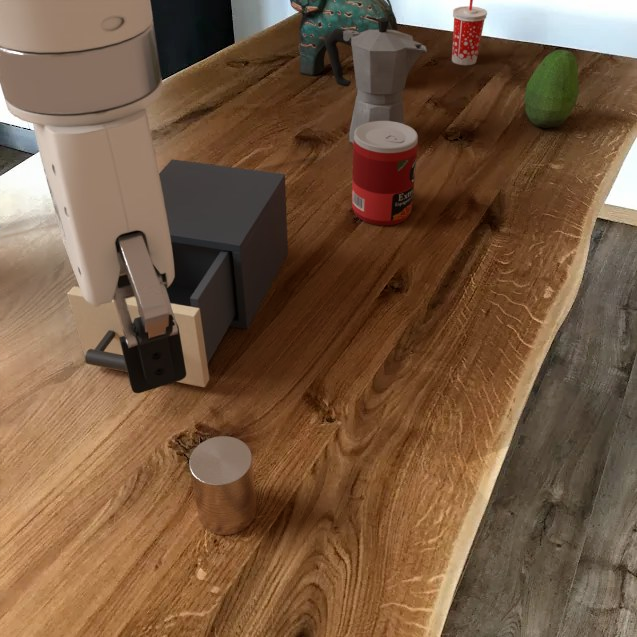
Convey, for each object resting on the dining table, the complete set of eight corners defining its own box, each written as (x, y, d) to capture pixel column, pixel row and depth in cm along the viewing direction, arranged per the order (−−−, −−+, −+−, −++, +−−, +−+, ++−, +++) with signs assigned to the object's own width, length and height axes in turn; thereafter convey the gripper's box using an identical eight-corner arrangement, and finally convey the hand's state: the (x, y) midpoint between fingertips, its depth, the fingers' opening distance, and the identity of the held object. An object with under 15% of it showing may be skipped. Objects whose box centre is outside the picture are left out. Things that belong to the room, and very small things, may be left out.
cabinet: (247, 329, 78) (240, 245, 71) (129, 308, 81) (111, 225, 74) (288, 253, 89) (285, 173, 82) (183, 237, 92) (171, 159, 85)
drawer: (187, 419, 67) (175, 347, 61) (64, 393, 69) (41, 321, 64) (252, 302, 80) (246, 234, 74) (146, 284, 83) (133, 217, 77)
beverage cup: (486, 60, 138) (497, -19, 129) (469, 69, 135) (479, -11, 126) (459, 52, 141) (468, -25, 132) (441, 61, 138) (449, -18, 129)
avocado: (580, 130, 115) (599, 53, 107) (541, 140, 112) (557, 62, 105) (547, 111, 120) (562, 37, 113) (508, 120, 118) (521, 45, 110)
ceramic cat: (288, 74, 133) (285, -46, 120) (306, 62, 138) (304, -54, 125) (388, 94, 126) (395, -31, 113) (403, 81, 130) (411, -40, 117)
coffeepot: (427, 133, 114) (439, 14, 103) (407, 159, 107) (417, 35, 96) (337, 116, 119) (338, 0, 108) (312, 140, 113) (311, 19, 101)
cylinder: (208, 544, 58) (200, 493, 54) (190, 498, 61) (181, 447, 57) (265, 522, 59) (261, 471, 55) (244, 479, 63) (239, 428, 59)
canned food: (403, 231, 93) (409, 152, 86) (343, 220, 95) (345, 141, 88) (418, 202, 98) (425, 125, 91) (361, 192, 100) (364, 116, 93)
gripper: (-21, 24, 40) (54, 276, 51) (25, 156, 28) (110, 450, 39) (116, 5, 42) (158, 250, 53) (212, 119, 30) (242, 405, 41)
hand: (138, 334), depth 46 cm, fingers open, 9 cm apart
